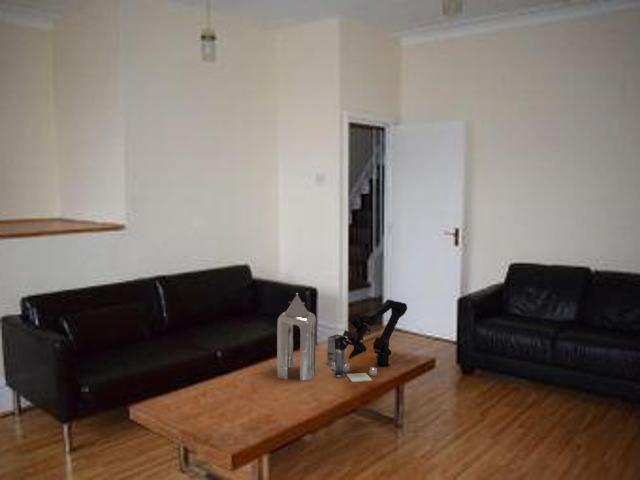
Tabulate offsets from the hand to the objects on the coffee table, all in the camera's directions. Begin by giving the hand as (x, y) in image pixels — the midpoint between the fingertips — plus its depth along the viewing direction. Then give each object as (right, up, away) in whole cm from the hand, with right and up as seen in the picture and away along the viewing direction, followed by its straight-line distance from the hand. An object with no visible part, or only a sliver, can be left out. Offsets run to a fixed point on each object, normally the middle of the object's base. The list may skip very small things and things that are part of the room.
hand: (343, 356), depth 314 cm
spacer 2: (+2, -10, +7) cm, 12 cm away
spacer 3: (+16, -11, +2) cm, 20 cm away
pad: (+8, -11, -3) cm, 14 cm away
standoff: (-3, -11, -1) cm, 11 cm away
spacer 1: (-4, -9, +10) cm, 14 cm away
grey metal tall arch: (-26, -10, +2) cm, 28 cm away
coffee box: (-4, -8, +20) cm, 22 cm away
